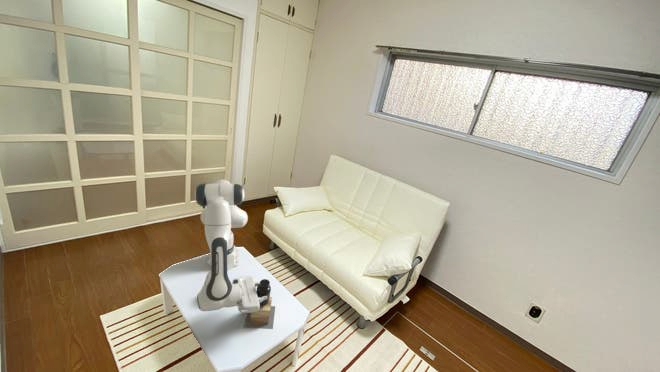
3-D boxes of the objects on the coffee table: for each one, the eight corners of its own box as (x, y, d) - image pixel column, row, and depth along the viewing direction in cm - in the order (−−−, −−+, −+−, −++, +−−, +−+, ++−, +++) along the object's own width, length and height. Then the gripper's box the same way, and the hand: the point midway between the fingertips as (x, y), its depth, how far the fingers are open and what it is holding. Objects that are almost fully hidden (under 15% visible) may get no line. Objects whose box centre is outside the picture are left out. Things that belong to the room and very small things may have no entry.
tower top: (253, 302, 138) (254, 295, 137) (271, 303, 140) (272, 296, 138) (250, 316, 130) (251, 309, 128) (269, 317, 131) (270, 311, 130)
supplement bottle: (256, 307, 128) (258, 288, 124) (254, 297, 134) (256, 278, 130) (270, 305, 131) (273, 286, 127) (267, 295, 137) (270, 276, 133)
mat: (249, 305, 142) (249, 304, 142) (275, 306, 144) (275, 306, 144) (243, 328, 129) (243, 327, 129) (272, 329, 131) (272, 328, 131)
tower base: (253, 308, 140) (253, 302, 138) (270, 309, 141) (271, 303, 140) (249, 323, 132) (250, 316, 130) (268, 324, 133) (269, 317, 131)
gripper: (239, 308, 115) (271, 301, 121) (233, 276, 131) (261, 271, 138) (238, 318, 117) (269, 312, 123) (232, 285, 134) (260, 281, 140)
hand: (265, 290), depth 131 cm, fingers closed on supplement bottle, 7 cm apart
